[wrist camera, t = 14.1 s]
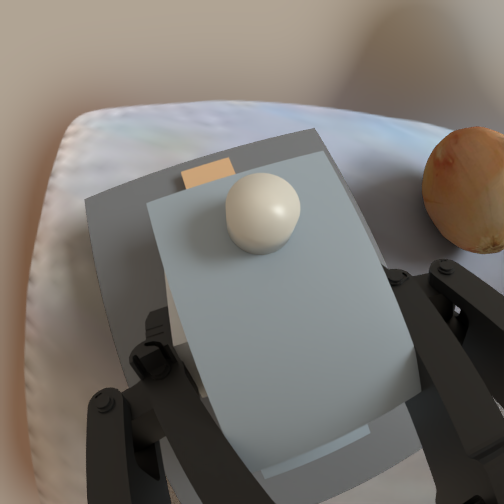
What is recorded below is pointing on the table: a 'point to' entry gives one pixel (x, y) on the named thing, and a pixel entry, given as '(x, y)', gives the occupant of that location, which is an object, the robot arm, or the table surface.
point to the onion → (467, 189)
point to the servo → (285, 310)
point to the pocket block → (155, 297)
